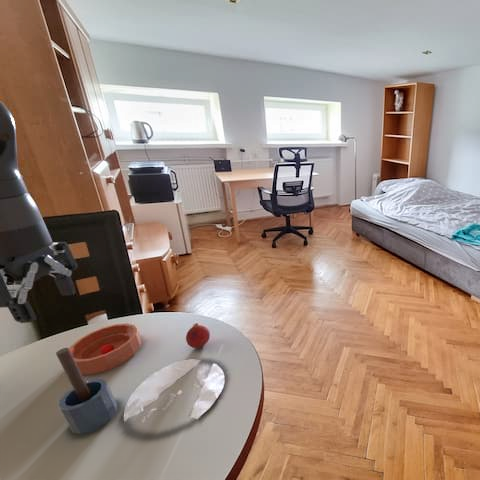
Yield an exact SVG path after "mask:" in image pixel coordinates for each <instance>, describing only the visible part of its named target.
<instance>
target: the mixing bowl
mask: <svg viewBox="0 0 480 480" xmlns="http://www.w3.org/2000/svg"><path fill="white" fill-rule="evenodd" d="M142 342H143V340H142V337H141V335H140V332H139V329H138V328H137V327H136V325H135V324H132V323H116V324H112V325H107V326H104V327H101V328H99V329H96V330H93V331H92V332H88V334H85V335H84V336H82V337H80V338H79V339H77V340H76V341H75V342H74V343H73V344H72V345H70V346H69V347H68V348H69V350H70V352H71V354H72V356H73V358H74V360H75V362H76V364H77V366H78V368H79V370H80V372H81V375H82V376H87V375H88V376H89V375H96V374H101V373H103V372H107V371H110V370H112V369H114V368H115V367H118V366H119V365H122V364H124V363H125V362H126V361H128V360H130V359H131V358H132V357H133V356H135V355H136V353H137V352H138V351H139V350H140V349H141V347H142ZM107 344H111V345H113V346H114V350H113V351H111V352H108V353H106V354H104V355H103V354H102V353H101V348H102V347H103V346H104V345H107Z"/></svg>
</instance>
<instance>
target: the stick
mask: <svg viewBox="0 0 480 480" xmlns="http://www.w3.org/2000/svg"><path fill="white" fill-rule="evenodd" d="M69 348H70V347H64V348H61V349H59V350H58V351H56V352H55V355H56V357H57V359H58V361H59V364H61V366H62V369H63V371H64V373H65V374H66V376H67V378H68V381H69V382H70V384H71V387H72V388H74V390H75V392H76V394H77V396H78V398H79V400H80V402H81V403H83V402H85V401H88V400H89V399H91V398H92V395H91V393H90V391H89V389H88V387H87V385H86V383H85V382H86V381H85V379H84V377H83V375H81V372H80V370H79V368H78V366H77V364H76V362H75V360H74V358H73V356H72V354H71V352H70V350H69Z"/></svg>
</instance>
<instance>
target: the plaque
mask: <svg viewBox="0 0 480 480" xmlns="http://www.w3.org/2000/svg"><path fill="white" fill-rule="evenodd" d="M200 362H202V361H201V359H194V358H191V359H190V358H189V359H184V360H179V361H176V362H173V363H171V364H168V365H166V366H164V367H161V368H160V369H158V370H157V371H155V372H154V373H152V374H151V375H149V376H148V377H147V378H146V379H144V380H143V381H142V382H141V383H140V384H139V385H138V386H137V388H135V390H134V391H133V392H132V394H131V395H130V396H129V398H128V400H127V403H126V404H125V407H124V412H123V422H126V421H127V420H128V419H130V418H133V416H138V415H139V414H140V413H142V412H144V411H145V410H144V408H145V407H148V406H149V405H151V404H152V403H154V402H155V401H156V400H158V399H159V397H160V395H161V394H162V392H163V391H165V390H166V389H168V388H169V387H172V386H173V385H174V383H176V381H177V380H178V379H180V378H181V377H183V376H186V374H187V373H188V372H190V371H191V370H192V369H194V368H195V367H197V366H198V364H199V363H200ZM209 368H210V369H209ZM206 372H208V373H207V376H206V374H205V373H206ZM195 378H196V379H197V381H198V384H199V385H196V382H194V384H193V386H194V387H193V388H192V390H193V391H196V389H198V388H200V387H201V389H200V390H199V393H198V395H197V397H196V399H195V400H194V401H195V402H194V403H193V405H192V407H191V410H190V412H189V414H188V416H187V417H188V418H194V419H196V420H199V419H200V418H201V417H202V415H204V414H205V413H206V412H207V411H208V410H209V409H210V408H211V407H212V406H213V405H214V404H215V402H216V400H217V399H218V398H219V396H220V395H221V394H222V391H223V389H224V386H225V383H226V381H225V378H226V377H225V373H224V371H223V369H222V368H221V367H220V366H219V365H218V364H217V363H214V362H213V363H212V365H211V367H209V364H208V363H207V364H206V365H203V366H201V367H200V368H198V369H197V370H196V376H195ZM195 388H196V389H195ZM181 394H182V389H179V390H178V391H177V393H173V392H171V393H170V394H169V398H170V400H169V401H168V403H167V404H166V407H165V406H164V407H163V408H162V410H163V411H165V410H166V409H167V408H168V407H169V406H171V404H172V402H174V400H175V398H176V396H177V395H179V396H180V395H181ZM189 405H190V404H187V406H189ZM157 409H158V408H157V407H156V408H151V409H150V411H147V415H146V416H145V415H144V416H142V420H141V422H142V423H145V422H146V418H149V416H150V415H151V414H153V412H154V411H155V412H156V411H157Z"/></svg>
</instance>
